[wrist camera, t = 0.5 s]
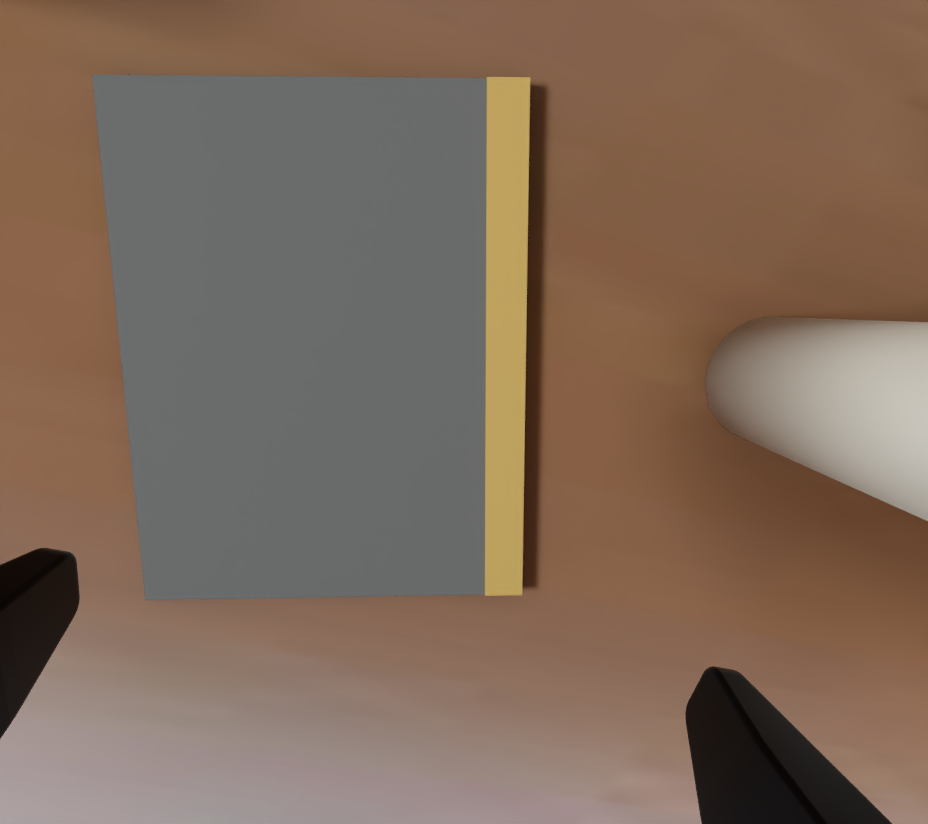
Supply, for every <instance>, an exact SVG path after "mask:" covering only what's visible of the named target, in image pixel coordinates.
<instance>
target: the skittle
mask: <svg viewBox="0 0 928 824" xmlns="http://www.w3.org/2000/svg"><path fill="white" fill-rule="evenodd" d="M705 389H706V396H707V400H708V404H709V406H710V409H711V411H712V413H713V414H714V416H715V418H716V419H717V420H718V421H719V423H720V424H721V425H722V426H723V427H724V428H725V429H727V430H728V431H730V432H731V433H733V434H735V435H737V436H739V437H741V438H743V439H745V440H747V441H750V442H752V443H754V444H756V445H759V446H761V447H763V448H765V449H768V450H770V451H772V452H774V453H776V454H779V455H781V456H783V457H785V458H788V459H790V460H792V461H794V462H797V463H799V464H801V465H803V466H806V467H808V468H810V469H812V470H814V471H817V472H819V473H821V474H823V475H826V476H828V477H830V478H832V479H835V480H837V481H839V482H841V483H843V484H846V485H848V486H850V487H852V488H855V489H857V490H859V491H861V492H864V493H866V494H868V495H870V496H872V497H875V498H877V499H879V500H881V501H884V502H886V503H888V504H890V505H893V506H895V507H897V508H899V509H902V510H904V511H906V512H908V513H910V514H913V515H915V516H917V517H919V518H922V519H924V520H926V521H928V322H906V321H878V320H850V319H822V318H794V317H764V318H759V319H755V320H752V321H749V322H747V323H745V324H743V325H741V326H739V327H738V328H736V329H735V330H733V331H732V332H731V333H730V334H728V335H727V336H726V337H725V338H724V339H723V340H722V342H721V343H720V344H719V346H718V347H717V348H716V350H715V352H714V353H713V355H712V357H711V360H710V362H709V365H708V369H707V373H706V380H705Z"/></svg>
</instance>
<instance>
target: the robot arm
mask: <svg viewBox="0 0 928 824" xmlns="http://www.w3.org/2000/svg"><path fill="white" fill-rule="evenodd" d="M79 597H80V596H79V584H78V572H77V562H76V558H75V556H74V555H73V554H72V553H70V552H66V551H61V550H55V549H49V548H39V549H36V550H33V551H31V552H29V553H27V554H24V555H22V556H20V557H17V558H15V559H13V560H11V561H8V562H6V563H4V564H1V565H0V738H1V737H2V736H3V734H4V733H5V731H6V730H7V728H8V727H9V725H10V724H11V722H12V721H13V719H14V718H15V716H16V714H17V713H18V711H19V710H20V708H21V706H22V705H23V703H24V701H25V700H26V698H27V696H28V694H29V693H30V691H31V689H32V688H33V686H34V684H35V682H36V681H37V679H38V677H39V676H40V674H41V672H42V671H43V669H44V667H45V665H46V664H47V662H48V660H49V659H50V657H51V655H52V653H53V652H54V650H55V648H56V647H57V645H58V643H59V641H60V640H61V638H62V636H63V635H64V633H65V631H66V630H67V628H68V626H69V624H70V623H71V621H72V619H73V618H74V616H75V614H76V611H77V609H78V605H79ZM686 726H687V733H688V739H689V745H690V752H691V758H692V765H693V771H694V778H695V784H696V791H697V797H698V804H699V810H700V816H701V822H702V824H892V823H891V822H890V821H889V820H888V819H887V818H886V817H885V816H884V815H883V814H882V813H881V812H880V811H879V810H878V809H877V808H876V807H875V806H874V805H873V804H872V803H871V802H870V801H869V800H868V799H867V798H866V797H865V796H864V795H863V794H862V793H861V792H860V791H859V790H858V789H857V788H856V787H855V786H854V785H853V784H852V783H851V782H850V781H849V780H848V779H847V778H845V777H844V776H843V775H842V774H841V773H840V772H839V771H838V770H837V769H836V768H835V767H834V766H833V765H832V764H831V763H830V762H829V761H828V760H827V759H826V758H825V757H824V756H823V755H822V754H821V753H820V752H819V751H818V750H817V749H816V748H815V747H814V746H813V745H812V744H811V743H810V742H809V741H808V740H807V739H806V738H805V737H804V736H803V735H802V734H801V733H800V732H799V731H798V730H797V729H796V728H795V727H794V726H793V725H792V724H791V723H790V722H789V721H788V720H787V719H786V718H785V717H784V716H783V715H782V714H781V713H780V712H779V711H778V710H777V709H776V708H775V707H774V706H773V705H772V704H771V703H770V702H769V701H768V700H767V699H766V698H765V697H764V696H763V695H762V694H761V693H760V692H759V691H758V690H757V689H756V688H755V687H754V686H753V685H752V684H751V683H750V682H749V681H748V680H747V679H746V678H745V677H744V676H743V675H742V674H740V673H739V672H737V671H735V670H731V669H725V668H720V667H709V668H707V669H706V670H705V671H704V673H703V675H702V677H701V679H700V681H699V682H698V684H697V686H696V688H695V690H694V692H693V694H692V696H691V697H690V699H689V701H688V704H687V707H686Z"/></svg>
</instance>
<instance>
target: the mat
mask: <svg viewBox="0 0 928 824" xmlns="http://www.w3.org/2000/svg"><path fill="white" fill-rule="evenodd" d="M92 78H93V88H94V97H95V107H96V117H97V127H98V137H99V147H100V157H101V166H102V176H103V186H104V196H105V206H106V216H107V226H108V235H109V245H110V255H111V265H112V275H113V285H114V295H115V304H116V314H117V324H118V334H119V344H120V354H121V364H122V373H123V383H124V393H125V403H126V413H127V423H128V433H129V442H130V452H131V462H132V472H133V482H134V492H135V502H136V511H137V521H138V531H139V541H140V551H141V561H142V571H143V580H144V590H145V600H184V599H243V598H302V597H361V596H421V595H480V594H485V596H495V595H522V579H523V514H524V450H525V385H526V321H527V256H528V191H529V127H530V77H487V78H408V77H296V76H184V75H92Z"/></svg>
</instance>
